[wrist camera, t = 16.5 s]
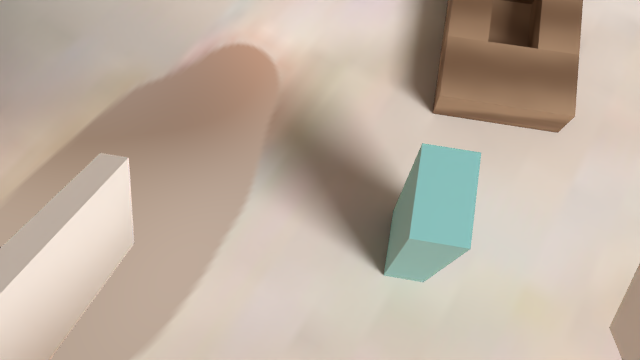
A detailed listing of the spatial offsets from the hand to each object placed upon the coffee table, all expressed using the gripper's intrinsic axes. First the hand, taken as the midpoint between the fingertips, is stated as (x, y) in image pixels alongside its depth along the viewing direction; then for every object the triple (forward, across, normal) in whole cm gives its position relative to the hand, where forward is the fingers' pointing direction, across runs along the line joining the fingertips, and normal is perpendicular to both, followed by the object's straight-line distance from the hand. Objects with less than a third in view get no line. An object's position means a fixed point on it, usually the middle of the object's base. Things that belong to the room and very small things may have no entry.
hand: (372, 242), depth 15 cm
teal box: (+25, +4, -17) cm, 30 cm away
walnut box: (+38, +9, -4) cm, 40 cm away
